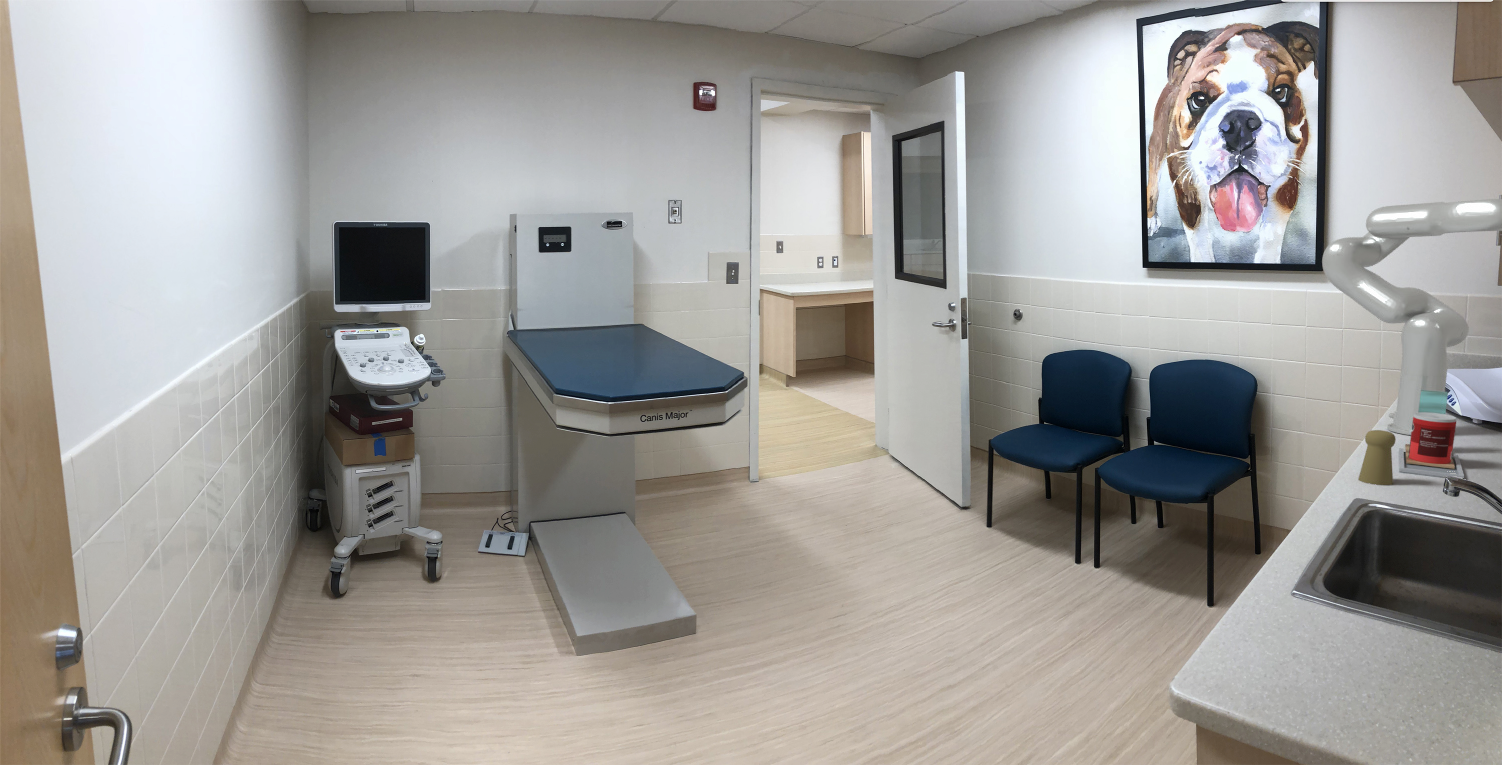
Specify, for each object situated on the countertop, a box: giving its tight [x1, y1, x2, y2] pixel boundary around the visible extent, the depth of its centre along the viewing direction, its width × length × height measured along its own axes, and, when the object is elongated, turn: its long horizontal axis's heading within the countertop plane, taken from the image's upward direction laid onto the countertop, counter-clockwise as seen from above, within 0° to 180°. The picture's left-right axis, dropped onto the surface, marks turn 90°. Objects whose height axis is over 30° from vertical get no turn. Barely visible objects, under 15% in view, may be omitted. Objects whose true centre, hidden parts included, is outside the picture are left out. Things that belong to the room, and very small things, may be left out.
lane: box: [1398, 448, 1465, 479], centre depth 195 cm, size 22×11×1 cm, turn 143°
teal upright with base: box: [1404, 390, 1455, 469], centre depth 199 cm, size 21×8×14 cm, turn 143°
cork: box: [1358, 429, 1396, 486], centre depth 182 cm, size 6×6×11 cm
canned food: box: [1408, 412, 1457, 467], centre depth 195 cm, size 8×8×11 cm
